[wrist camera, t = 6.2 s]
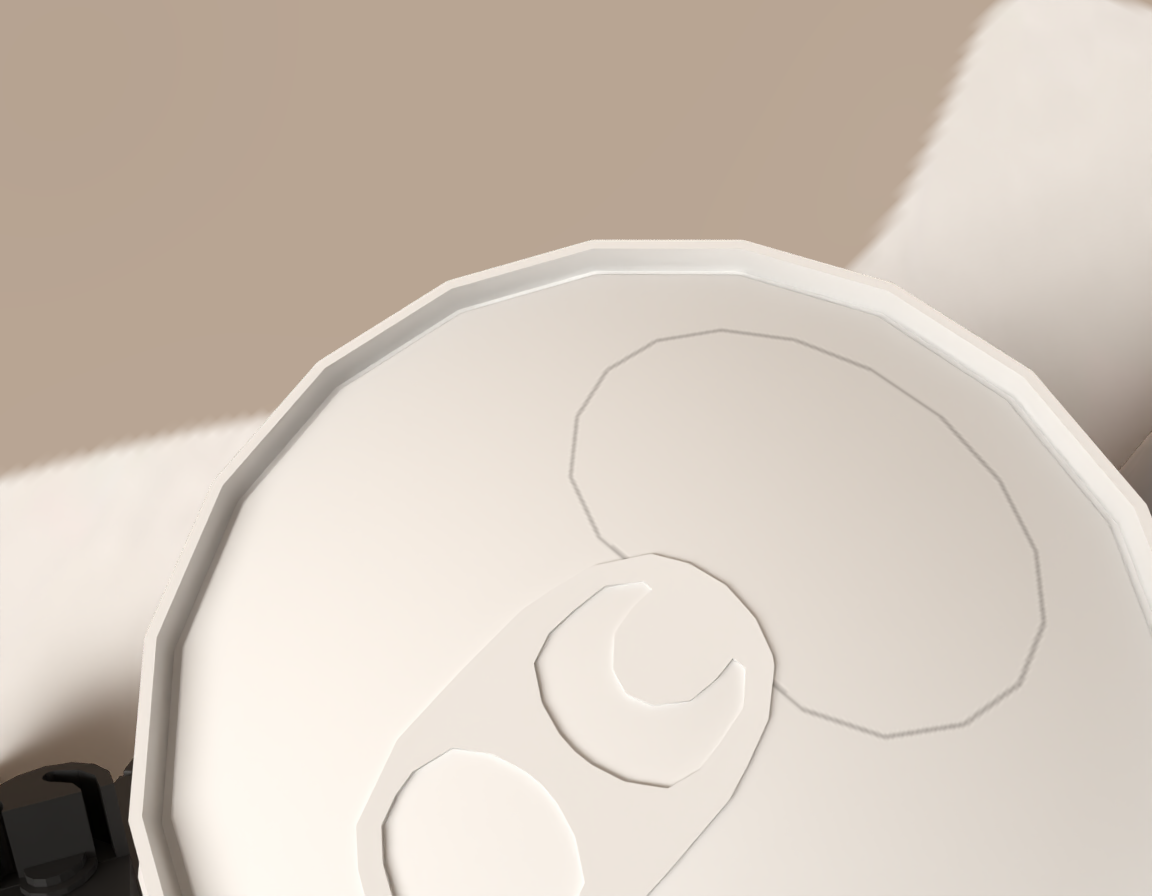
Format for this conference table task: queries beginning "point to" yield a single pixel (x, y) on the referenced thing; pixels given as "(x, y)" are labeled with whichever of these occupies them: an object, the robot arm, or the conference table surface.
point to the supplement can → (656, 606)
